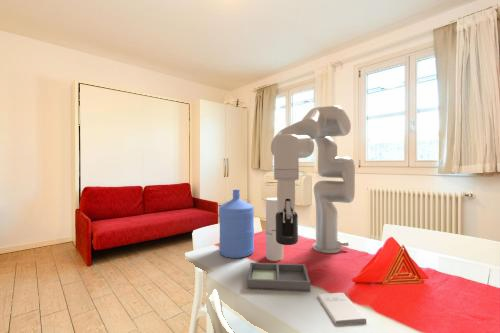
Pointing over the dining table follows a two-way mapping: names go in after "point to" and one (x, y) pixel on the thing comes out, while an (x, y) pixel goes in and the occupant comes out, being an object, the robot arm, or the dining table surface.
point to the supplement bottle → (279, 237)
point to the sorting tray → (278, 277)
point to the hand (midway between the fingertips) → (286, 231)
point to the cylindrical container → (272, 232)
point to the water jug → (236, 228)
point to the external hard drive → (341, 308)
